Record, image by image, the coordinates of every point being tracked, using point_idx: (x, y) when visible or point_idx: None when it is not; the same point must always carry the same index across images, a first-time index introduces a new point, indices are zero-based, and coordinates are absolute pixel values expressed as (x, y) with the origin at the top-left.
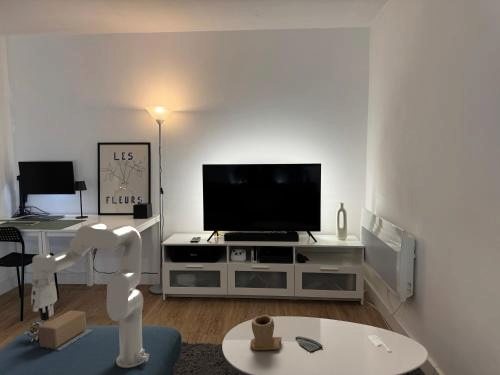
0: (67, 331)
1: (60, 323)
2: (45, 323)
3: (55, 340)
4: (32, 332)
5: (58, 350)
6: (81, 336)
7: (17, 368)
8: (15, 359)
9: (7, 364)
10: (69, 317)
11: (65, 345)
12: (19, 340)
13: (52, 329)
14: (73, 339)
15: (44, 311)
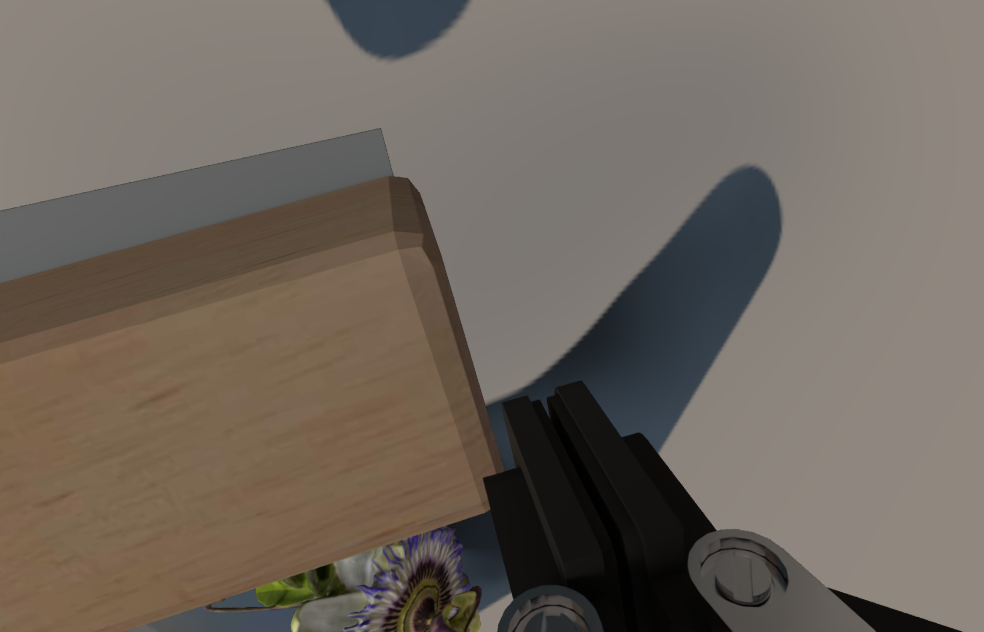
0: (190, 254)
1: (251, 337)
2: (399, 531)
3: (404, 192)
4: (442, 576)
5: (385, 146)
6: (45, 212)
7: (742, 171)
8: (661, 332)
9: (728, 306)
10: (7, 452)
11: (289, 168)
12: (485, 589)
13: (437, 261)
14: (157, 226)
15: (735, 573)
